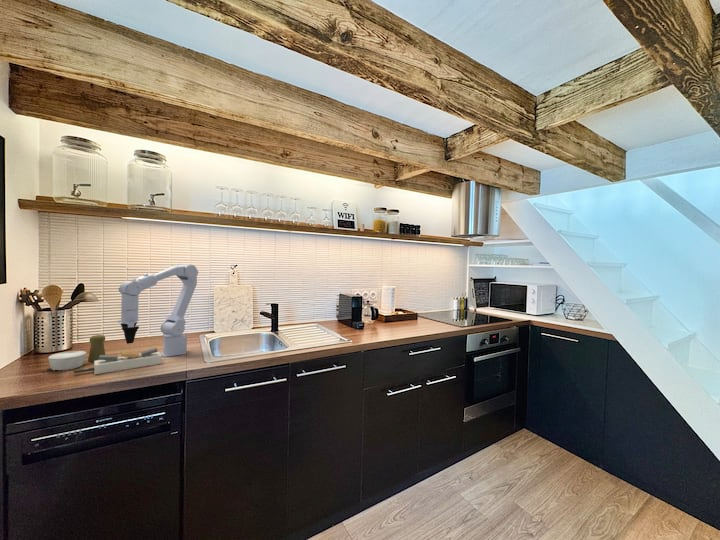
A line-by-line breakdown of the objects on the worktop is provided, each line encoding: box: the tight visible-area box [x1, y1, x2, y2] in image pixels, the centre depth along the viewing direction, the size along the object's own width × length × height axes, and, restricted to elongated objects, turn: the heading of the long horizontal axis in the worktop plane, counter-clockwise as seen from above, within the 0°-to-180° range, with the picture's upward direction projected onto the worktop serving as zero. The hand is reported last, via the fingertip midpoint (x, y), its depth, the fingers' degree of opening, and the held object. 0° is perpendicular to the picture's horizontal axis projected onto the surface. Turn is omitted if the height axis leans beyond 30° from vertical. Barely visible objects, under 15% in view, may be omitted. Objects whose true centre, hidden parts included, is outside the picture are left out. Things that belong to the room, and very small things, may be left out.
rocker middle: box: [120, 351, 140, 357], centre depth 124 cm, size 6×3×1 cm, turn 133°
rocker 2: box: [140, 347, 159, 357], centre depth 129 cm, size 6×3×1 cm, turn 132°
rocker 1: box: [99, 354, 118, 360], centre depth 119 cm, size 6×3×1 cm, turn 133°
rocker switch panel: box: [73, 351, 163, 375], centre depth 122 cm, size 28×7×4 cm, turn 133°
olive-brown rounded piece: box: [87, 334, 106, 363], centre depth 130 cm, size 6×6×11 cm
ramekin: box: [47, 350, 88, 372], centre depth 121 cm, size 11×11×5 cm
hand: (129, 341), depth 125 cm, fingers open, 7 cm apart
